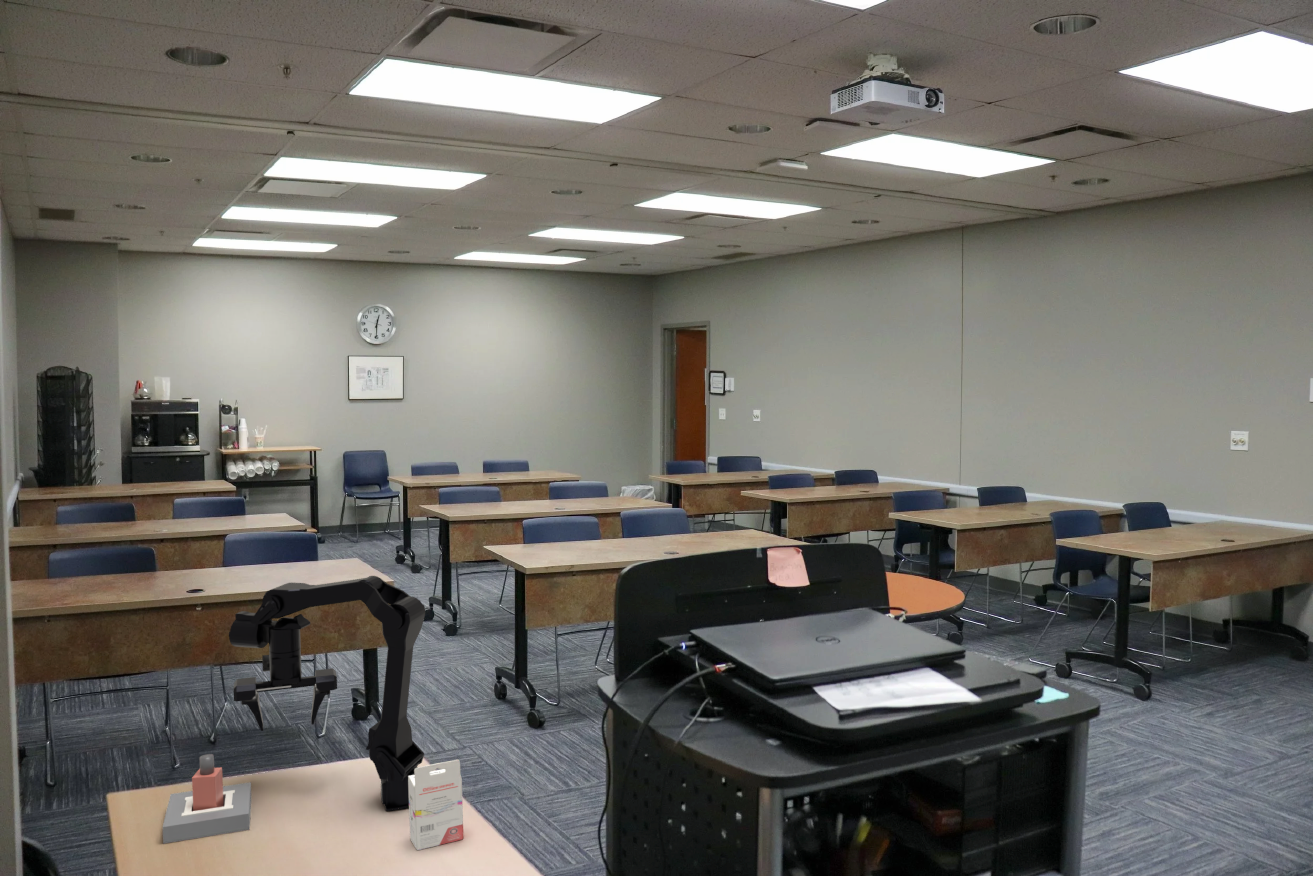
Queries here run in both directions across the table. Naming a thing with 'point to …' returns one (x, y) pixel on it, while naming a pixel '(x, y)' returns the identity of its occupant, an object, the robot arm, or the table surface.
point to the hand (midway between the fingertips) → (287, 727)
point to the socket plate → (207, 815)
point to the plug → (207, 785)
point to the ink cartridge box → (435, 805)
